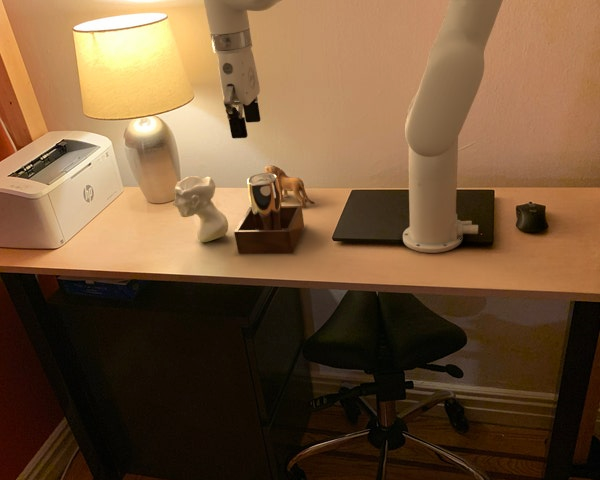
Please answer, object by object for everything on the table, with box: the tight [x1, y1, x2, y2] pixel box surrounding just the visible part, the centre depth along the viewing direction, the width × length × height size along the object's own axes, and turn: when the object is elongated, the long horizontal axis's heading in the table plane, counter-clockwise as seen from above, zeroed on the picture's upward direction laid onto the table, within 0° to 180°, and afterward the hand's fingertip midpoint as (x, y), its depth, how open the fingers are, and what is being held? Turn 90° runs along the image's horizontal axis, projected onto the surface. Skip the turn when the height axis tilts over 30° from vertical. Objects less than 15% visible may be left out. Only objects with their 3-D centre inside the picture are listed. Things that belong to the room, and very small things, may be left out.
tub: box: [233, 205, 305, 255], centre depth 134 cm, size 13×13×6 cm
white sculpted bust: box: [172, 175, 229, 243], centre depth 136 cm, size 10×11×15 cm
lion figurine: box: [264, 164, 316, 209], centre depth 150 cm, size 15×5×9 cm, turn 55°
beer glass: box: [246, 172, 284, 230], centre depth 132 cm, size 7×7×15 cm
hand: (246, 129), depth 122 cm, fingers open, 9 cm apart
